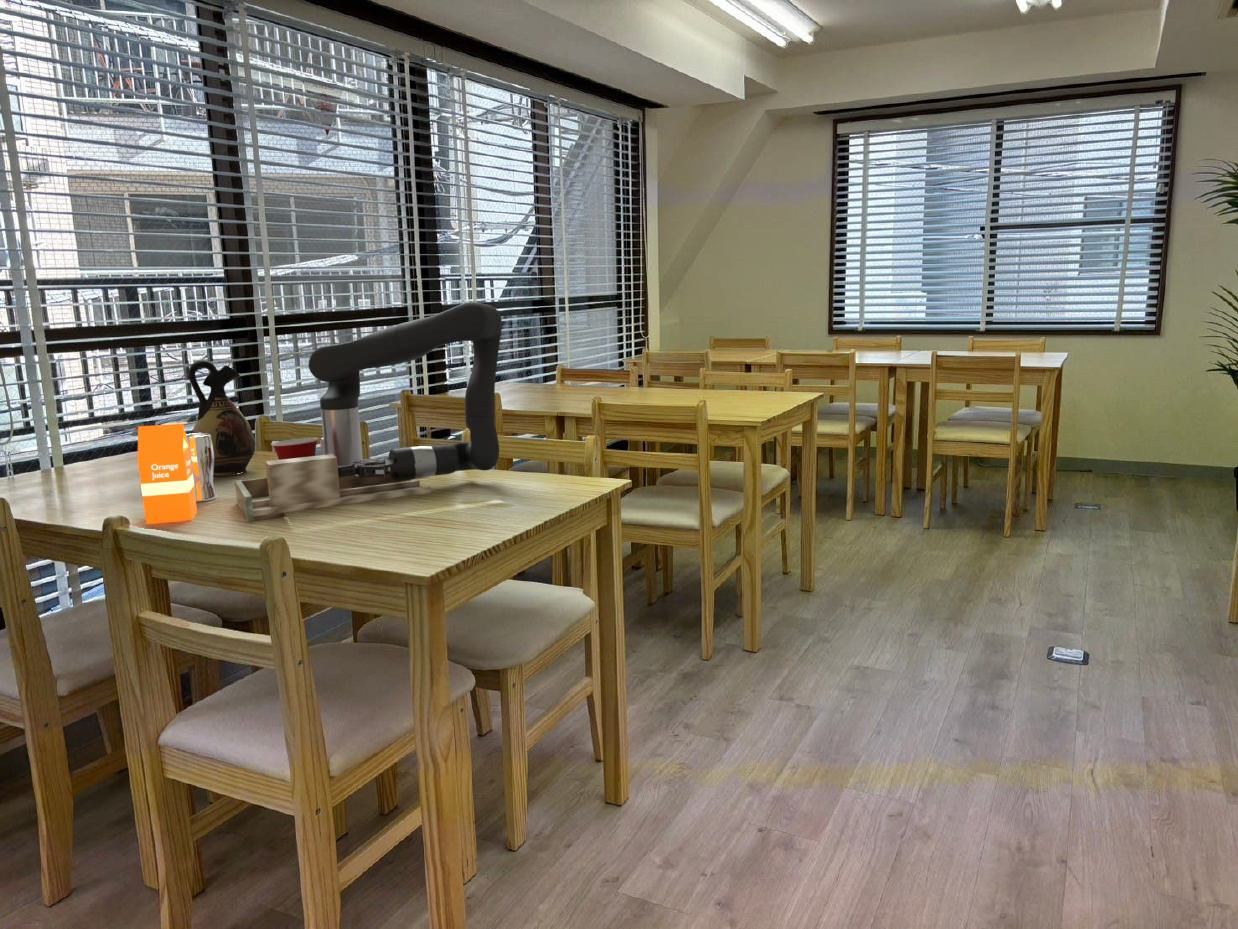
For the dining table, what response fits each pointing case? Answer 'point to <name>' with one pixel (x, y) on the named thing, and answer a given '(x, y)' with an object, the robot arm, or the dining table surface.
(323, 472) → the beech block
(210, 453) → the beer glass
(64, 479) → the dining table surface
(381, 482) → the pads
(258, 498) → the pad
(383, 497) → the board
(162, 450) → the orange juice
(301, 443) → the plastic cup
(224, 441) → the ceramic jug
